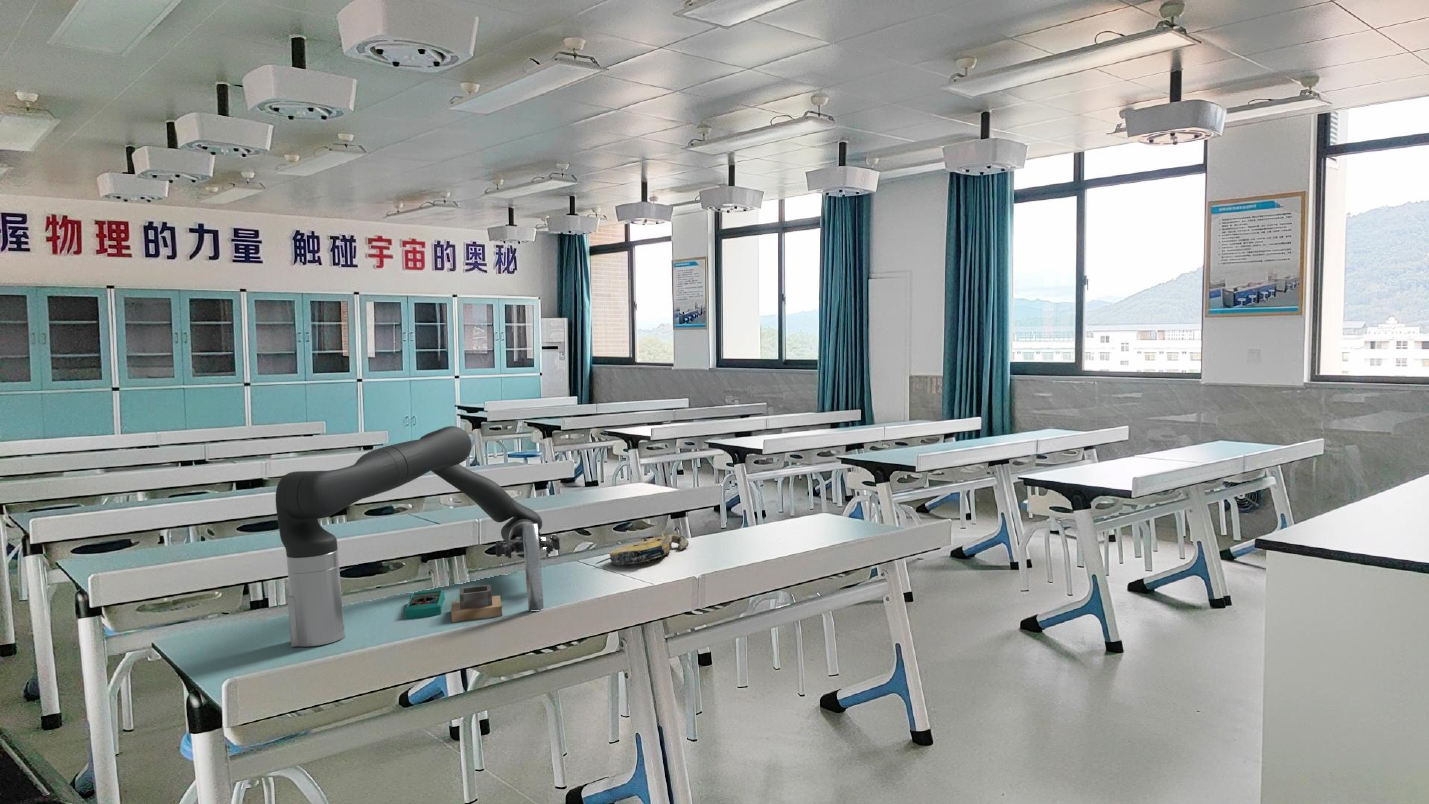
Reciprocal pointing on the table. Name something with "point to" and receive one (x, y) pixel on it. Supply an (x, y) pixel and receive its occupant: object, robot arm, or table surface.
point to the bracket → (476, 604)
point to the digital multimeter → (425, 604)
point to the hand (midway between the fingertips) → (529, 551)
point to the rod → (532, 566)
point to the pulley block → (646, 549)
